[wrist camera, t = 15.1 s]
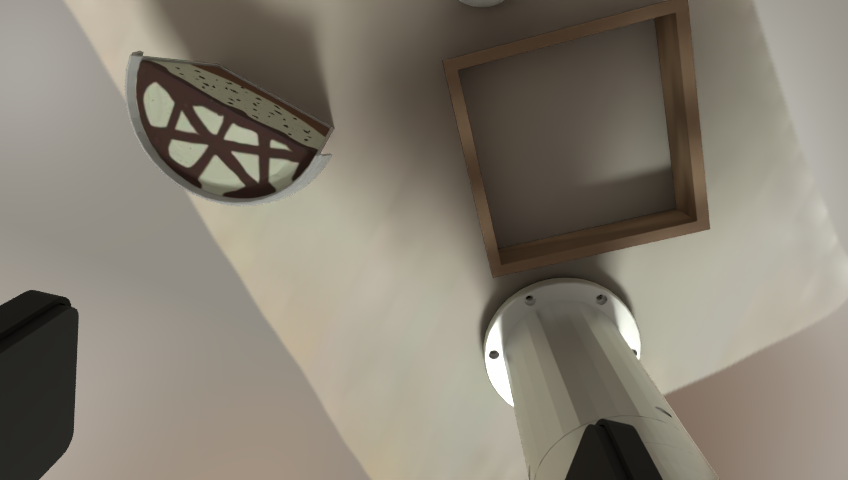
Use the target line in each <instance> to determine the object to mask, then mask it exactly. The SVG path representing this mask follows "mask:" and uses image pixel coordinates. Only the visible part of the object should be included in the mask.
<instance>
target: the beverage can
mask: <svg viewBox="0 0 848 480" xmlns="http://www.w3.org/2000/svg"><path fill="white" fill-rule="evenodd" d="M459 1H460V2H462V3H464V4H467V5H470V6H474V7H490V6H494V5H497V4H500V3H502V2H504V1H506V0H459Z"/></svg>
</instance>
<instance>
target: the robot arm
mask: <svg viewBox="0 0 848 480" xmlns="http://www.w3.org/2000/svg"><path fill="white" fill-rule="evenodd" d="M530 295H532V296H531V298H526V297H527V296H530ZM599 295H601V296H600V297H599V298H597V296H599ZM77 342H78V311H77V309H75V308H73V307H71V303H70V301H69V299H67V298H66V297H62V296H58V295H53V294H49V293H44V292H40V291H36V290H29V291H26V292H24V293H22V294H20V295H19V296H17V297H15V298H13V299H12V300H10V301H8V302H6V303H4V304H3V305H1V306H0V480H39V479H40V478H41V477H42V476H43V475H44V474H45V473H46V472H47V471H48V470H49V469H50V468H51V467H52V466H53V465H54V464H55V463H56V461H57V460H58V459H59V458H60V457H61V456H62V455H63V453H65V452H66V450H67V448H68V447H69V444H70V442H71V440H72V437H73V432H74V408H75V387H76V385H75V384H76V364H77ZM641 344H642V343H641V337H640V331H639V328H638V325H637V323H636V320H635V318H634V316H633V315H632V313H631V312H630V311H629V309H628V308H627V306H626V305H625V304H624V303H623V302H622V301H621V300H620V298H619V297H618V296H616V295H615V294H614V293H612V292H611V291H610V290H608V289H607V288H605V287H603V286H600V285H598V284H596V283H594V282H591V281H587V280H583V279H578V278H565V277H564V278H554V279H547V280H544V281H540V282H537V283H534V284H531V285H529V286H527V287H525V288H523V289H521V290H519V291H518V292H517V293H515V294H514V295H512V296H511V297H510V298H508V299H507V300H506V301H505V302H504V303H503V305H502V306H501V307H500V308H499V309H498V310H497V312H496V313H495V315H494V316H493V318H492V319H491V321H490V323H489V326H488V329H487V331H486V334H485V340H484V346H483V348H484V362H485V367H486V371H487V374H488V377H489V379H490V382H491V384H492V385H493V387H494V388H495V390H496V391H497V393H498V394H499V395H500V396H501V397H502V398H503V399H504V400H505V401H506V402H507V403H509V404H510V405H512V406H513V407H514V411H515V416H516V420H517V425H518V430H519V434H520V439H521V443H522V448H523V453H524V457H525V462H526V467H527V471H528V476H529V480H720V479H719V478H718V477H717V475H716V473H715V472H714V471H713V469H712V468H711V466H710V465H709V463H708V462H707V460H706V459H705V458H704V456H703V454H702V453H701V451H700V450H699V448H698V447H697V446H696V444H695V443H694V441H693V440H692V439H691V437H690V436H689V434H688V432H687V431H686V430H685V428H684V427H683V425H682V424H681V422H680V421H679V419H678V418H677V416H676V415H675V413H674V412H673V410H672V409H671V407H670V406H669V405H668V403H667V401H666V400H665V398H664V397H663V395H662V394H661V392H660V391H659V389H658V388H657V386H656V385H655V383H654V382H653V380H652V379H651V378H650V376H649V375H648V373H647V372H646V370H645V369H644V367H643V366H642V364H641V363H640V357H641ZM492 350H495V351H493V352H492Z"/></svg>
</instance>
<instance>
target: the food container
mask: <svg viewBox="0 0 848 480" xmlns="http://www.w3.org/2000/svg"><path fill="white" fill-rule="evenodd" d="M142 55H143V52H142V51H137V52H133V53H132V55H130V57H129V61H128V65H127V69H126V78H125V98H126V106H127V110H128V115H129V119H130V122H131V125H132V127H133V130H134V133H135V135H136V137H137V139H138V141H139V143H140V145H141V146H142V148H143V149H144V151H145V153H146V154H147V155H148V157H149V158H150V160H151V161H152V162H153V163H154V164H155V165H156V166H157V168H158V169H160V171H162V173H163V174H164V175H166V176H167V177H168V178H169V179H170V180H172V181H173V182H174V183H175V184H177V185H179V186H180V187H182V188H183V189H185V190H187V191H188V192H190V193H192V194H194V195H196V196H199V197H201V198H203V199H206V200H208V201H212V202H216V203H220V204H225V205H233V206H253V205H260V204H266V203H270V202H275V201H278V200H281V199H284V198H286V197H289V196H291V195H293V194H294V193H296V192H298V191H300V190H301V189H303V188H304V187H305V186H307V185H308V184H309V183H310V182H311V181H313V180H314V179H315V178H316V177H317V176H318V174H319V173H320V172H321V171H322V170H323V168H324V167H325V166H326V164H327V163H328V161H329V159H330V158H331V156H332V155H331V154H324V155H321V154H320V153H321V151H322V149H323V147H324V146H325V144H326V142H327V140H328V138H329V137H330V135H331V133H332V131H333V129H334V128H333V127H332V126H330V125H328V124H326V123H324V122H323V121H321V120H319V119H317V118H315V117H313V116H312V115H310V114H308V113H306V112H304V111H303V110H301V109H299V108H297V107H295V106H293V105H292V104H290V103H288V102H286V101H284V100H283V99H281V98H279V97H277V96H275V95H274V94H272V93H270V92H268V91H266V90H264V89H263V88H261V87H259V86H257V85H255V84H254V83H252V82H250V81H248V80H246V79H244V78H243V77H241V76H239V75H237V74H235V73H234V72H232V71H230V70H228V69H226V68H224V67H223V66H221V65H219V64H214V63H205V62H195V61H186V60H177V59H168V58H158V57H149V56H142Z"/></svg>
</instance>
